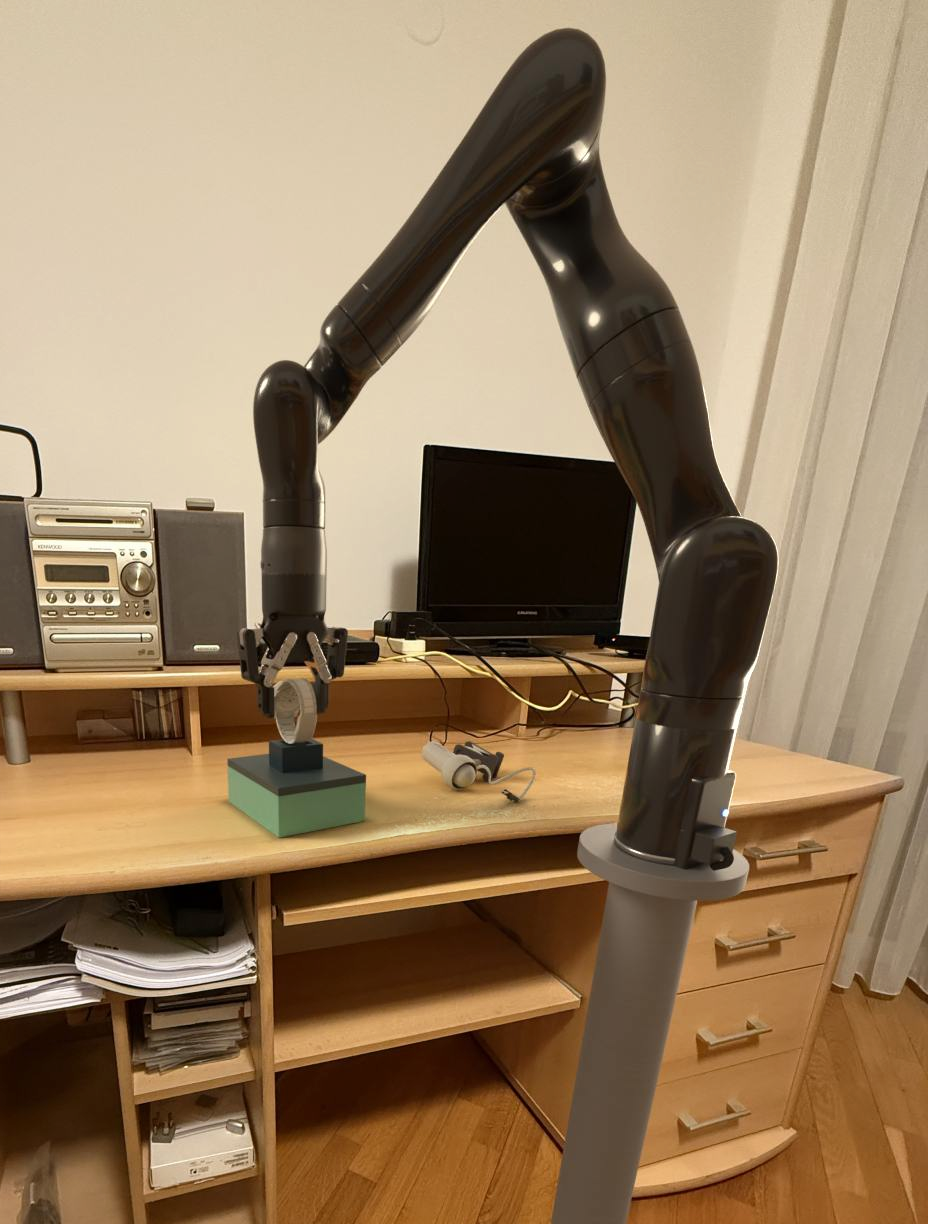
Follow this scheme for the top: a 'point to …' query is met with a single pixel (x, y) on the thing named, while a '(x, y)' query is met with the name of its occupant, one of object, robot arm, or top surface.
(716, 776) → the robot arm
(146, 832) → the top surface
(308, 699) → the watch
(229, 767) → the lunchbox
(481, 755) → the clip-on lamp
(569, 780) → the top surface
